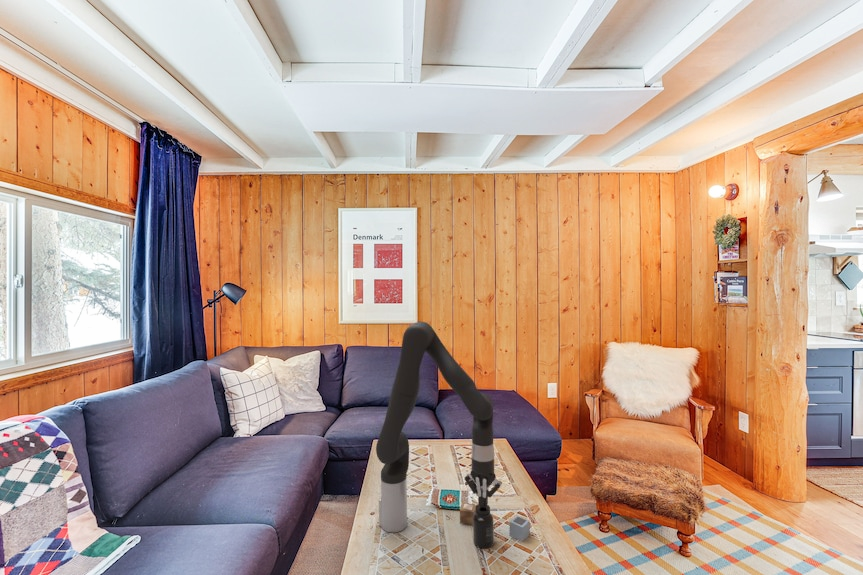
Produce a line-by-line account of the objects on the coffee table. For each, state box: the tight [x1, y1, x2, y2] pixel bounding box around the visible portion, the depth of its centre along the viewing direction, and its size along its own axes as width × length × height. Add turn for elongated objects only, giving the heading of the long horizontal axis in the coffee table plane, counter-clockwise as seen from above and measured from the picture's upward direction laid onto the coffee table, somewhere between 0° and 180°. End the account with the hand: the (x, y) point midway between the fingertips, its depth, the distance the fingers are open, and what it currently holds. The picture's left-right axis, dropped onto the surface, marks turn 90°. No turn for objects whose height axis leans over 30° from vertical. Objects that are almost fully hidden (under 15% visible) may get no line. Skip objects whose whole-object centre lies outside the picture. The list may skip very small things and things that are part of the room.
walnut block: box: [459, 502, 477, 526], centre depth 146 cm, size 5×5×5 cm
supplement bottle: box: [472, 504, 495, 549], centre depth 134 cm, size 7×7×12 cm
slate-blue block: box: [509, 514, 531, 543], centre depth 137 cm, size 5×5×5 cm
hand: (483, 506), depth 133 cm, fingers closed
